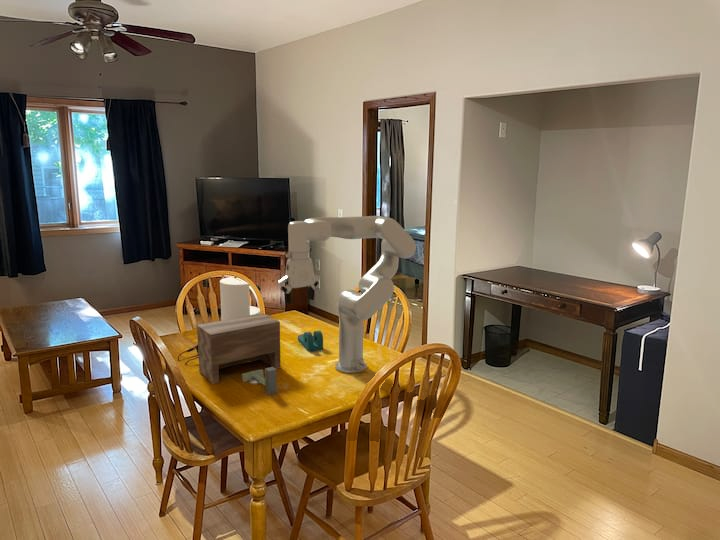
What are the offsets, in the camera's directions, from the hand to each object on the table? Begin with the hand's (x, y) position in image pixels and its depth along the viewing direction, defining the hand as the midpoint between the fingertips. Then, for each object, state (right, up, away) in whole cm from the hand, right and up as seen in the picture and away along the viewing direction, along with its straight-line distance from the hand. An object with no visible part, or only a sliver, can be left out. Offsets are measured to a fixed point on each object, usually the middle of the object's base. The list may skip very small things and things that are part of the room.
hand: (299, 301), depth 198 cm
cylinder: (-32, -21, +48) cm, 61 cm away
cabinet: (-25, -28, +14) cm, 40 cm away
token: (-17, -30, +3) cm, 35 cm away
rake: (-14, -31, -1) cm, 34 cm away
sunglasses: (-46, -26, +24) cm, 58 cm away
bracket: (-1, -22, +43) cm, 49 cm away
